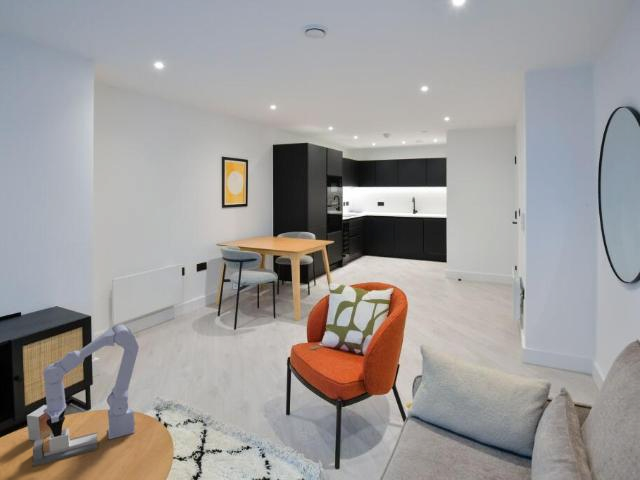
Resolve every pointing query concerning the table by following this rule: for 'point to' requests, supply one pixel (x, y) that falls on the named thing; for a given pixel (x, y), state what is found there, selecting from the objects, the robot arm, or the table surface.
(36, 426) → the small box
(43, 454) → the rail board
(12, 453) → the table surface
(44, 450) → the orange block
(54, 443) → the block
